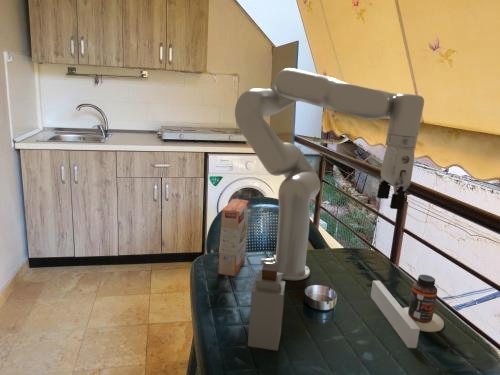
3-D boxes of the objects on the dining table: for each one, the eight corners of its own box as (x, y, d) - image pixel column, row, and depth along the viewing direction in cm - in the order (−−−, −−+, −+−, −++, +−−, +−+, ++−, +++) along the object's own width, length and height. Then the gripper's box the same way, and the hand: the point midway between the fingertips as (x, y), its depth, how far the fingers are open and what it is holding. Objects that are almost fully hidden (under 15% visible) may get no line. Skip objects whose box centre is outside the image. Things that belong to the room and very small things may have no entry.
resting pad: (409, 331, 101) (410, 330, 101) (391, 308, 112) (391, 306, 112) (452, 332, 102) (452, 330, 102) (430, 308, 113) (430, 307, 113)
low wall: (408, 348, 95) (411, 328, 94) (370, 296, 118) (372, 280, 117) (416, 348, 95) (419, 328, 94) (377, 296, 118) (379, 280, 117)
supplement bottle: (419, 325, 103) (427, 284, 101) (402, 313, 109) (409, 274, 106) (437, 321, 106) (444, 281, 103) (419, 309, 111) (426, 271, 108)
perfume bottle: (277, 350, 91) (284, 275, 87) (247, 345, 92) (252, 271, 88) (280, 333, 97) (286, 263, 93) (252, 329, 98) (257, 259, 94)
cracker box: (236, 277, 125) (240, 211, 120) (217, 274, 126) (220, 209, 121) (246, 259, 138) (250, 199, 133) (228, 257, 139) (231, 197, 134)
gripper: (429, 148, 101) (415, 214, 105) (401, 138, 117) (390, 195, 122) (400, 145, 100) (387, 212, 105) (375, 135, 117) (365, 193, 121)
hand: (388, 203), depth 113 cm, fingers open, 9 cm apart
